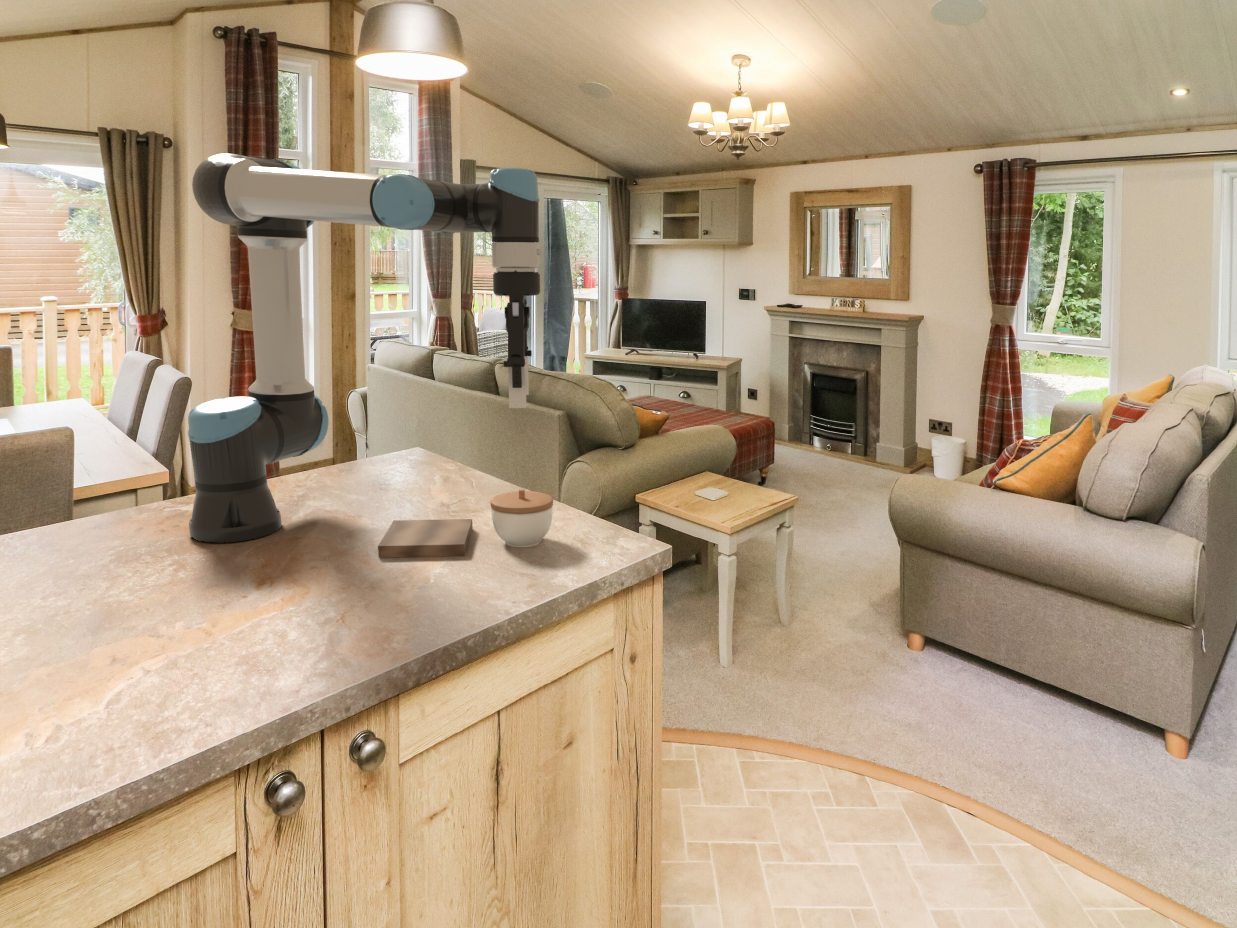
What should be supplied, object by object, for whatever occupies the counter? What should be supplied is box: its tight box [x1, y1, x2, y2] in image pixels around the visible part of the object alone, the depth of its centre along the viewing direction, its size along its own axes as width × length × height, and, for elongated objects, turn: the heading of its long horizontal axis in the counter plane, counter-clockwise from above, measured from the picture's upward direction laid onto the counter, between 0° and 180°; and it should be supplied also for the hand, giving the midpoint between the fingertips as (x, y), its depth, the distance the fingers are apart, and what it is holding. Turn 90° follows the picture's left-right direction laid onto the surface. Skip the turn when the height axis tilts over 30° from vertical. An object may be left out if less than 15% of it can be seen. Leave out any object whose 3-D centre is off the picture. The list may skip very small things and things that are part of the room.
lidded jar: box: [489, 488, 554, 549], centre depth 144 cm, size 11×11×9 cm
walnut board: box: [377, 518, 474, 559], centre depth 144 cm, size 14×14×2 cm
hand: (519, 401), depth 139 cm, fingers open, 13 cm apart
